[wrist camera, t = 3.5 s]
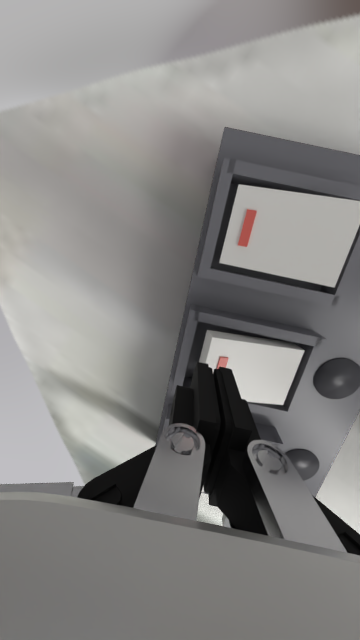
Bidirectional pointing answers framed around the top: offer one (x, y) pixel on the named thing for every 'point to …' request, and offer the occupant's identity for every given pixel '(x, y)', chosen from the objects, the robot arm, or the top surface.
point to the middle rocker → (254, 364)
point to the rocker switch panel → (280, 303)
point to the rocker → (290, 234)
